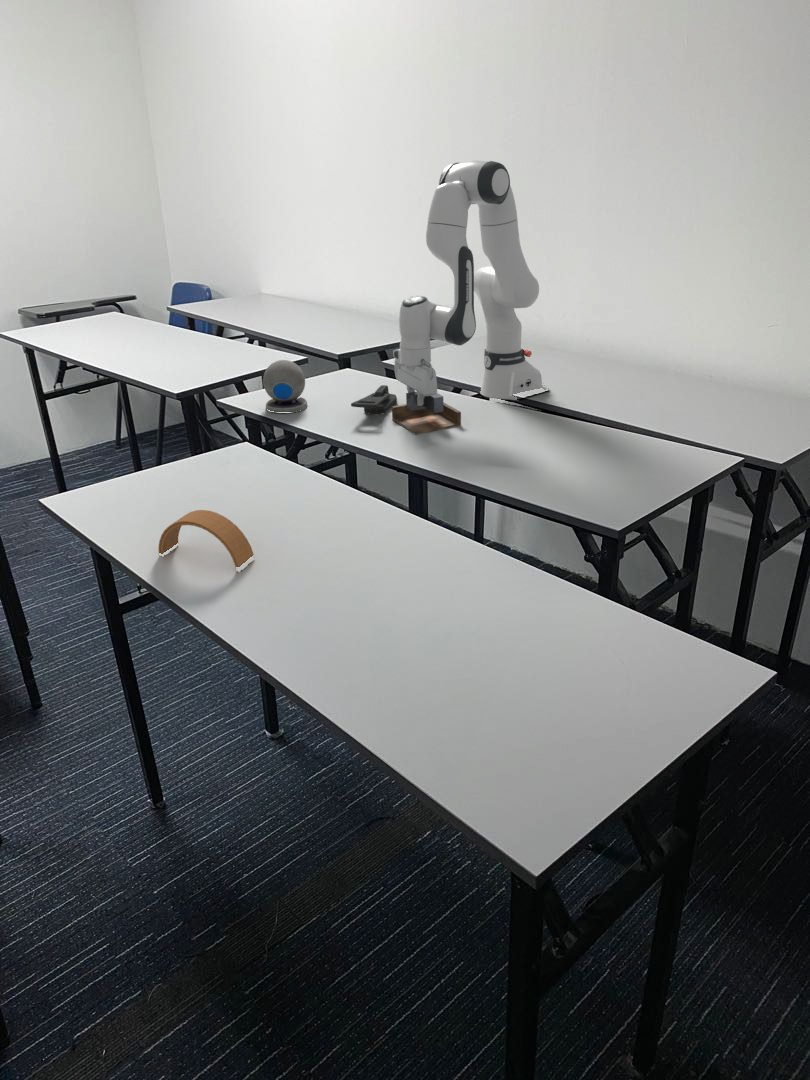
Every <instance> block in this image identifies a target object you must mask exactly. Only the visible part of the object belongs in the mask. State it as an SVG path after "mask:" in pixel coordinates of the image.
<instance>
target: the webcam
mask: <svg viewBox="0 0 810 1080" xmlns="http://www.w3.org/2000/svg"><path fill="white" fill-rule="evenodd" d="M305 377H306V376H305V374H304V372H303V369H302V368H301V367H300V366H299V365H298V363H295V362H294V361H291V360H288V359H280V360H276V361H274V362H272V363H271V364H270V365H269V366H267V367H266V369H265V371H264V374H263V378H262V384H263V388H264V390H265V392H266V394H267V395H268V396H269V397H270V398H271V399H269V400H268V401H267V402H266V404H265V409H268V410H270V411H274V412H296V411H300V410H302V411H304V410H306V409H307V408H308V401H307V399H305V398H304V397H301V395H302V394H303V392H304V390H305V386H306V379H305ZM306 407H307V408H306ZM305 408H306V409H305ZM303 409H304V410H303ZM300 412H301V411H300ZM296 413H297V412H296Z"/></svg>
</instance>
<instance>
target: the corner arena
mask: <svg viewBox="0 0 810 1080" xmlns="http://www.w3.org/2000/svg"><path fill="white" fill-rule="evenodd" d="M391 413H392V416H391V419H392V421H394V422H395V423H397V424H399V425H400V426H401V427H403V428H404V429H406V430H408V431H409V432H410V433H412V434H413V435H420V434H425V433H429V432H435V431H439V430H446V429H450V428H455V427H460V426H462V412H461V411H460V410H458V409H457V408H455V407H453V406H451V405H449V404H448V403H446V402H444V401H443V412H438V413H433V412H432V411H430V410H428V409H427V408H425V409H419V410H414V411H410V410H409V409H407V408H406V403H404V404H403V403H402V404H398V405H395V406H392V408H391Z"/></svg>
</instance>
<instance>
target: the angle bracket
mask: <svg viewBox="0 0 810 1080" xmlns="http://www.w3.org/2000/svg"><path fill="white" fill-rule="evenodd" d="M405 397H406V398H405V399H406V403H405V404H406V408H407V409H409V410H410V411H414V410H419V409H425V408H427V409H428V410H430V411H432V412H433V413H438V412H443V402H444V396H443V395H441V394H440V393H438V392H437V393H436V395H432V396H425V397H424V399H423V402H424V404H423V405H421V406H418V405H417V404H416V399H417V397H418V394H417V391H415V392H411V393H408V392H406V393H405Z"/></svg>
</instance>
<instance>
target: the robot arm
mask: <svg viewBox="0 0 810 1080" xmlns="http://www.w3.org/2000/svg"><path fill="white" fill-rule="evenodd" d="M512 188H513V187H512V186H511V178H510V174H509V172H508V169H507V167H505V165H504V164H502V163H501V162H498V161H493V160H489V161H488V160H487V161H485V160H471V161H465V162H454V163H451V164H449V165H447V166H446V167H445V168H444V169H443V170H442V172H441V175H440V177H439V181H438V186H437V187H436V188H435V190H434V193H433V196H432V199H431V203H430V206H429V207H430V208H429V212H428V217H427V225H426V233H425V240H426V241H425V242H426V246H427V248H428V251H429V252H430V253H431V254H432V255H433V256H434V257H435V258H436V259H438V260H439V261H440V262H442V263H444V264H445V265H446V266H448V267H449V269H450V270H451V272H452V274H453V281H454V286H453V287H454V292H453V293H454V296H453V297H454V300H453V303H454V305H453V306H445V305H441V304H436V303H434V302H432V301H429V299H428V297H426V296H423V295H415V296H414V295H413V296H409V297H406V298H405V299H404V300H403V301H401V304H400V307H399V308H400V309H399V318H398V321H399V322H398V324H399V325H398V327H399V329H398V331H399V334H400V342H399V348H397V349H394V350H392V356H393V358H394V374H395V375H394V376H395V378H396V380H397V381H398V382H399V383H402V384H403V385H405V386H406V390H407V393H411V392H417V394H418V397H417V399H416V404H417V405H418V406H421V405H423V404H424V402H423V399H424V397H425V396H432V395H436V393H438V381H437V372H436V370H435V368H434V367H433V365H432V363H431V362H432V344H431V343H432V342H431V339H432V340H435V341H441V342H445V343H450V344H452V345H455V346H463V345H465V344H466V343H467V342H469V341H470V340H471V339H472V338H473V337H474V335H475V332H476V329H477V320H476V315H475V294H476V296H477V298H478V299H479V302H480V306H481V310H482V313H483V317H484V318H483V319H484V322H485V349H484V353H483V355H484V357H483V363H484V373H483V379H482V385H481V388H480V390H481V391H479V393H480V395H482V396H483V397H485V398H490V399H497V400H498V399H499V400H510V401H518V400H517V397H516V396H515V397H514V396H512V395H513V394H517V393H520V392H525V391H530V390H534V389H540V388H543V389H544V390H546V389H550V388H549V386H548V385H547V384H546V383H543V379H542V373H541V371H540V370H539V369H538V368H537V367H535V366H534V365H533V364H532V363H530V362H529V361H528V360H526V357H527V358H530V357H531V356H532V354H533V353H532V351H531V350H529V349H523V348H522V333H523V332H522V327H523V326H522V322H521V321H520V319H519V318H518V316H517V314H516V311H515V309H525V308H530V307H531V306H533V304H534V303H535V302H536V301H537V299H538V296H539V294H540V293H539V292H540V284H539V282H538V280H537V279H536V277H535V276H534V275H533V273H532V272H531V270H530V268H529V266H528V264H527V262H526V259H525V256H524V254H523V249H522V247H521V241H520V240H521V239H520V233H519V222H518V214H517V213H518V212H517V211H518V210H517V205H516V201H515V196H514V193H513V189H512ZM471 205H477V207H478V217H479V218H478V219H479V230H480V238H481V239H480V240H481V245H482V246H481V248H482V250H483V253H484V255H485V256H486V258H487V259H488V260H489V262H490V264H491V265H485V266H482V267H480V268H478V270H477V271H476V272H475V263H474V261H475V260H474V254H473V252H472V250H471V249H470V248H469V245H468V241H467V227H468V218H469V208H470V207H471ZM543 386H546V387H543Z"/></svg>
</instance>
